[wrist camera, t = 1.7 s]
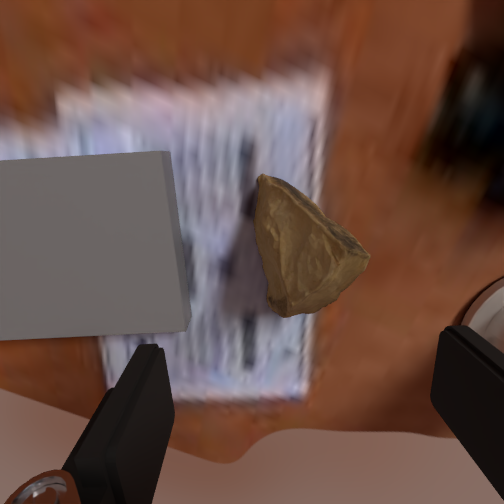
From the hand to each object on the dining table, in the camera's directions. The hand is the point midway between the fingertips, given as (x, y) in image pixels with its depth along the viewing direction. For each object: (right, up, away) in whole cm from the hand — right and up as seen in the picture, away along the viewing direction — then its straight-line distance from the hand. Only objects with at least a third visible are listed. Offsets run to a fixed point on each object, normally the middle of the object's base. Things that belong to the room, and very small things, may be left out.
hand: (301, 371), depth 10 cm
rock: (+1, +4, +15) cm, 16 cm away
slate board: (-15, +4, +15) cm, 22 cm away
